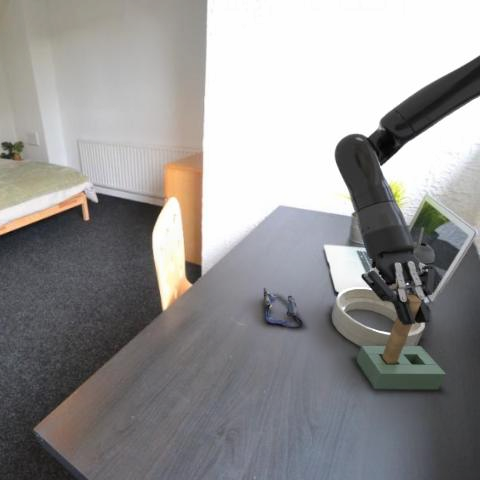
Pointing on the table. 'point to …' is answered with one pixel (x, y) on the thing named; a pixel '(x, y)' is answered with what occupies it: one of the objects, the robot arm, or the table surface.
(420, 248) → the beverage cup
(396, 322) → the stirring stick
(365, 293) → the cream ring
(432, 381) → the stick stand
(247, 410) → the table surface
